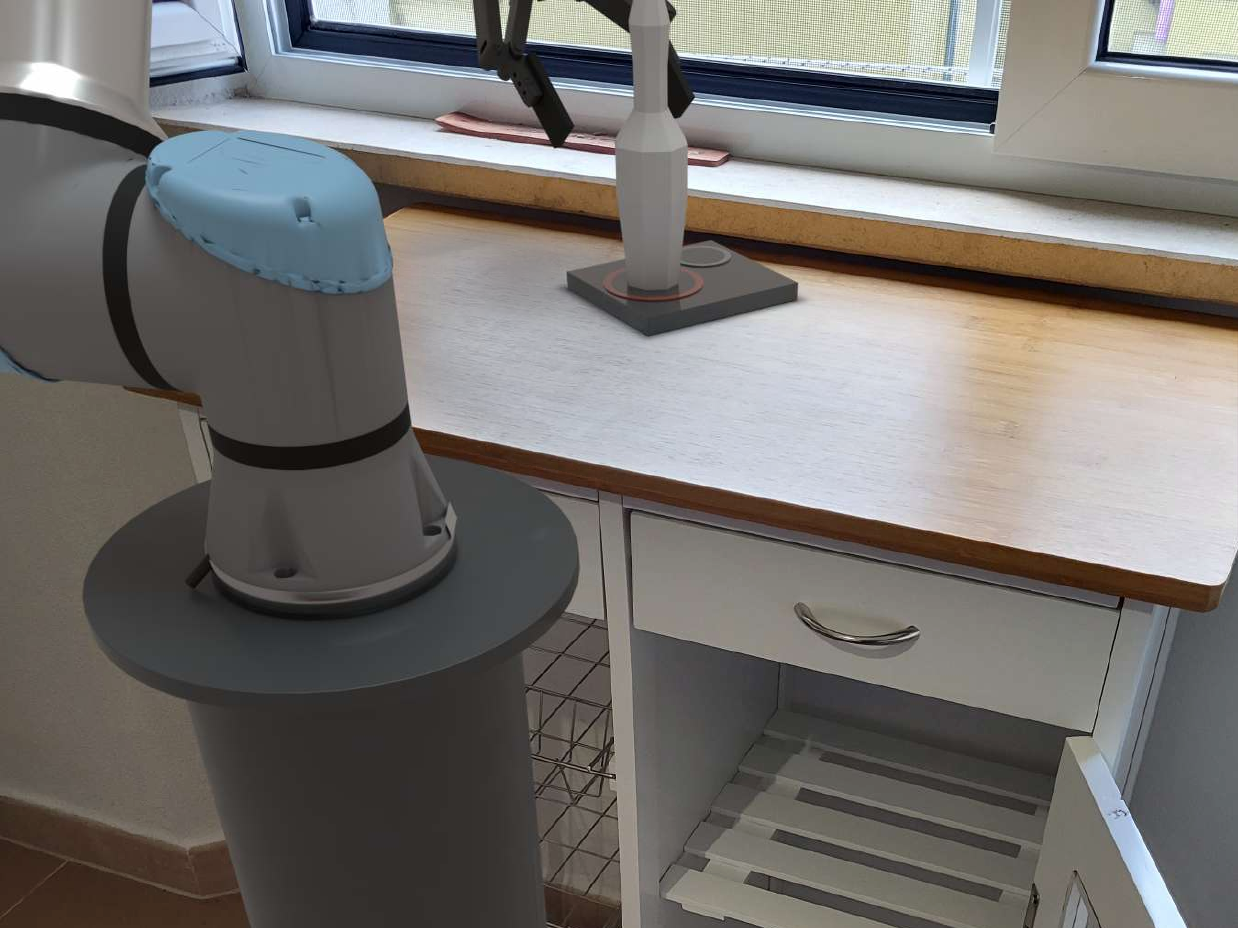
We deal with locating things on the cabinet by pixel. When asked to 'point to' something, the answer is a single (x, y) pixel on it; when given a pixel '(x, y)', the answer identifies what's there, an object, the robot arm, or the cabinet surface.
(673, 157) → the low poly bottle
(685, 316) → the hob
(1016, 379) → the cabinet surface
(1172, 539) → the cabinet surface
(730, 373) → the cabinet surface
